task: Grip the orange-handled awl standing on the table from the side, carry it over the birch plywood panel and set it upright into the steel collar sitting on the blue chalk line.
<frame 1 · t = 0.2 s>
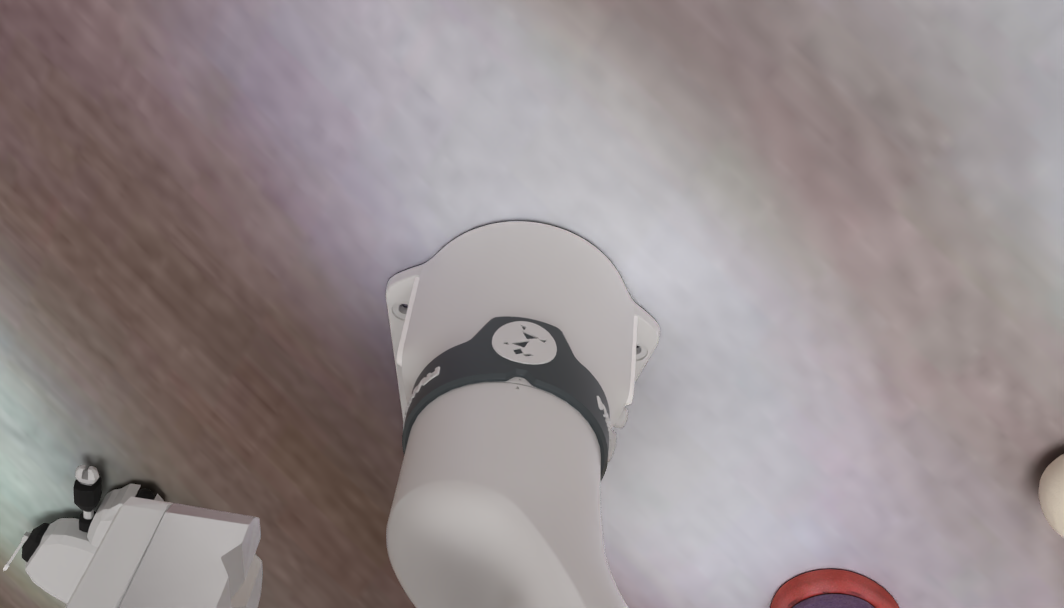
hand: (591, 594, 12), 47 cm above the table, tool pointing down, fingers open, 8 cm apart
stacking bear: (826, 603, 85), on the table
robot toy: (122, 521, 85), on the table
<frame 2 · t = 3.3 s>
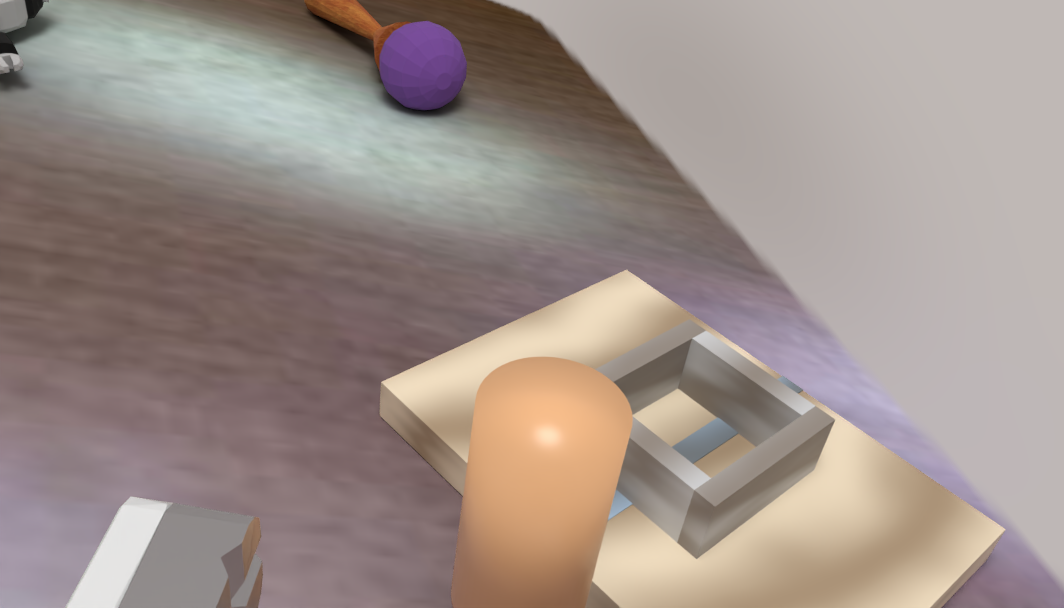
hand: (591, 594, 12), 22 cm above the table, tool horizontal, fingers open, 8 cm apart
purple maraca: (376, 67, 76), on the table
plywood panel: (675, 485, 44), on the table
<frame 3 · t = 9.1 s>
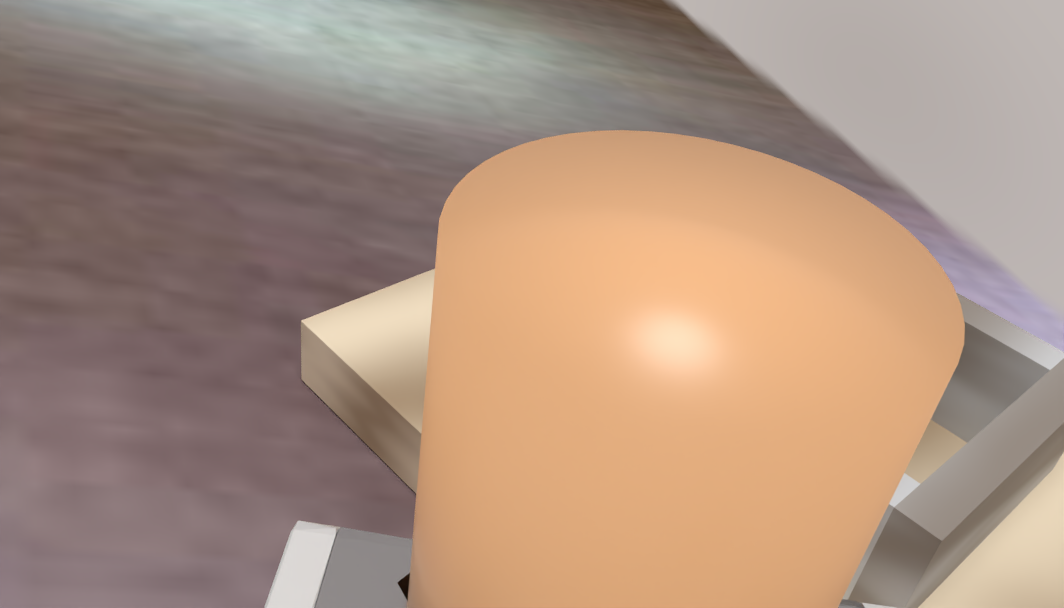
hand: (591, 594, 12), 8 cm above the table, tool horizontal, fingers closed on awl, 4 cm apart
plywood panel: (806, 497, 26), on the table
when the fingers open (12 cm above the table, at t = 13.5 s): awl drops 1 cm, resting on plywood panel.
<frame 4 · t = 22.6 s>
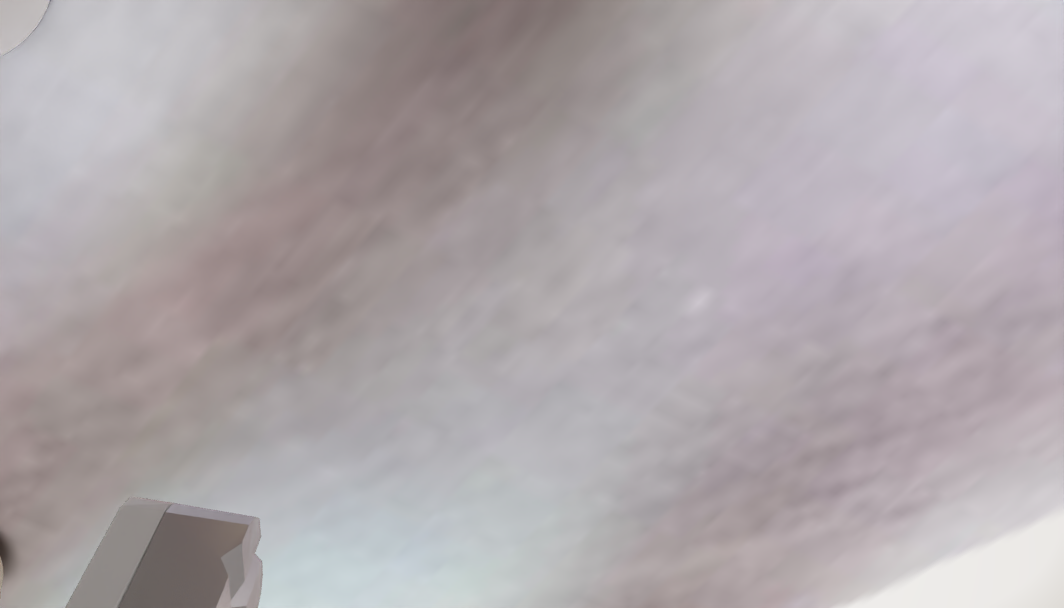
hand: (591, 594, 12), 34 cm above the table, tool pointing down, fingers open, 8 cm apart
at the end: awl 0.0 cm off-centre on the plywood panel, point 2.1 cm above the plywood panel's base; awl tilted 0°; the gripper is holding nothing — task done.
